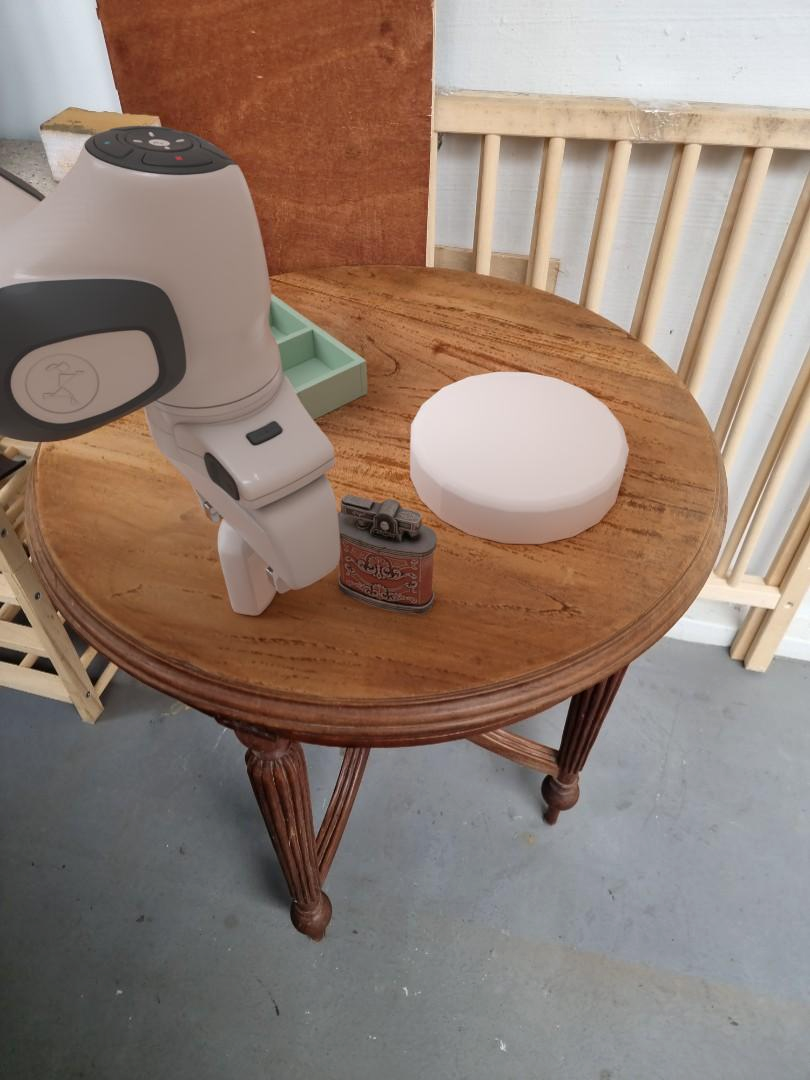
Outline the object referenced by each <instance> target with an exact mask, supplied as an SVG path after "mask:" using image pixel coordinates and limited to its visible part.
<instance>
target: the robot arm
mask: <svg viewBox="0 0 810 1080" xmlns="http://www.w3.org/2000/svg"><path fill="white" fill-rule="evenodd" d="M254 204H255V203H254V200H253V197H252V195H251V191H250V188H249V186H248V183H247V180H246V178H245V176H244V173H243V171H242V169H241V167H240V166H239V165H238V164H237V162H236V161H235V160H233V159H232V158H231V157H230V155H228V154H227V153H226V152H225V151H223V150H222V149H221V148H219V147H218V146H216V145H215V144H213V143H212V142H210V141H209V140H206V139H204V138H203V137H202V136H199V135H197V134H195V133H192V132H187V131H182V130H177V129H174V128H172V127H165V126H157V125H128V126H126V125H125V126H120V127H118V126H117V127H112V128H110V129H108V130H105V131H101V132H98V133H95V134H93V135H92V136H90V137H89V138H87V139H86V140H85V142H84V143H83V145H82V147H81V150H80V152H79V154H78V157H77V159H76V160H75V162H74V164H73V165H72V167H71V168H70V169H69V170H68V172H67V173H66V174H65V175H64V176H63V178H62V179H61V180H60V181H58V184H57V185H56V186H55V187H54V188H53V189H52V190H51V191H50V192H49V193H48V194H47V195H46V196H45V195H44V194H43V193H42V192H41V191H39V190H38V189H36V188H35V187H34V186H32V185H31V184H30V183H28V182H27V181H25V180H23V179H22V178H20V177H19V176H17V175H15V174H14V173H12V172H10V171H8V170H7V169H5V168H3V167H1V166H0V436H2V437H4V438H7V439H12V440H16V441H20V442H21V441H22V442H27V443H28V442H29V443H54V442H55V443H56V442H61V441H62V442H63V441H67V440H71V439H75V438H77V437H81V436H83V435H87V434H89V433H91V432H94V431H96V430H98V429H100V428H102V427H105V426H107V425H110V424H112V423H114V422H116V421H117V420H120V419H122V418H124V417H127V416H129V415H131V414H133V413H136V412H137V411H139V410H140V409H143V413H144V416H145V421H146V424H147V428H148V432H149V434H150V437H151V439H152V441H153V443H154V445H155V447H156V448H157V450H158V452H159V453H160V454H161V455H162V456H163V457H164V458H165V459H166V460H167V462H169V463H170V464H171V465H172V466H173V467H174V468H175V469H176V471H178V472H179V474H180V475H181V476H182V477H183V478H184V479H185V480H186V481H187V482H188V483H189V484H190V486H191V488H192V489H193V491H194V493H195V495H196V496H197V499H198V500H199V503H200V506H201V510H202V512H203V514H204V515H205V516H206V517H207V518H208V519H209V520H210V521H211V522H212V523H214V524H218V523H220V522H222V520H223V519H225V520H226V521H227V522H228V523H229V524H230V525H231V527H232V528H233V529H234V530H235V531H236V532H237V533H238V534H239V535H240V536H241V537H242V538H243V539H244V540H245V541H246V542H247V543H248V544H249V545H250V546H251V547H252V548H253V549H254V550H255V552H256V553H257V554H258V555H259V556H260V557H261V558H262V559H263V560H264V561H265V562H266V563H267V564H268V565H269V567H268V568H266V573H267V576H268V581H269V582H270V583H271V584H272V586H273V587H274V588H275V589H276V590H277V591H276V592H278V593H279V594H281V595H282V594H286V593H287V592H289V591H290V590H292V591H293V590H294V591H298V590H301V589H303V588H304V589H305V588H306V587H309V586H311V585H313V584H315V583H316V582H318V581H320V580H321V579H323V578H324V577H326V576H327V575H329V574H330V573H332V572H333V571H334V570H335V569H336V568H337V567H338V565H339V561H340V532H339V521H338V513H339V512H338V506H337V500H336V497H335V493H334V492H335V491H334V489H333V487H332V483H331V481H330V480H329V478H328V477H327V474H326V473H328V472H329V471H330V470H332V469H333V468H334V467H335V463H336V457H335V450H334V446H333V443H332V442H331V441H330V439H329V438H328V436H327V435H326V434H325V432H324V431H323V430H322V429H321V428H320V427H319V425H318V424H317V423H316V421H315V419H314V420H313V419H312V418H311V416H310V415H309V413H308V412H307V411H306V409H305V408H304V406H303V405H302V403H301V402H300V400H299V398H298V396H297V395H296V393H295V390H294V388H293V386H292V384H291V382H290V381H289V379H288V378H287V376H285V375H283V371H282V364H281V357H280V351H279V347H278V344H277V342H276V340H275V337H274V336H273V334H272V332H271V329H270V326H269V309H270V304H271V294H272V289H271V282H270V274H269V269H268V264H267V257H266V252H265V247H264V242H263V237H262V233H261V232H262V231H261V228H260V224H259V219H258V215H257V212H256V208H255V205H254Z"/></svg>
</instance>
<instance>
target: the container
mask: <svg viewBox="0 0 810 1080" xmlns="http://www.w3.org/2000/svg"><path fill="white" fill-rule="evenodd" d="M409 440H410V443H409V478H410V480H411V482H412V485H413V487H414V489H415V491H416V494H417V496H418V498H419V500H420V501H421V502H423V504H424V505H425V506H426V507H427V508H428V509H429V510H430V511H431V512H432V513H433V514H434V515H435V516H436V517H437V518H438V519H439V520H441V521H443V522H444V523H447V524H448V525H450V526H452V527H454V528H456V529H458V530H459V531H461V532H463V533H465V534H467V535H468V536H472V537H476V538H480V539H483V540H484V539H485V540H489V541H492V542H496V543H500V544H504V545H505V544H509V545H511V544H512V545H513V544H515V545H543V544H547V543H552V542H557V541H560V540H565V539H569V538H574V537H575V536H577V535H579V534H581V533H582V532H585V531H586V530H588V529H590V528H591V527H593V526H595V525H597V524H599V523H600V522H601V521H602V519H603V518H604V517H605V516H606V515H607V514H608V512H609V511H610V510H611V509H612V508H613V506H614V505H615V504H616V502H617V499H618V495H619V491H620V488H621V484H622V480H623V477H624V474H625V469H626V466H627V462H628V458H629V453H630V448H629V443H628V440H627V437H626V433H625V429H624V427H623V425H622V424H621V422H620V421H619V420H618V418H617V417H616V415H614V413H613V412H612V411H611V409H610V408H609V407H608V406H607V405H606V404H605V403H604V402H602V401H601V400H599V399H598V398H597V397H595V396H593V394H591V393H589V392H588V391H586V390H585V389H584V388H582V387H579V386H576V385H574V384H572V383H569V382H567V381H564V380H562V379H559V378H557V377H553V376H547V375H544V374H543V375H542V374H538V373H532V372H529V371H528V372H527V371H494V372H487V373H482V374H475V375H470V376H467V377H465V378H462V379H460V380H458V381H455V382H452V383H451V384H448V385H446V386H443V387H441V389H439V390H438V391H436V393H434V394H433V395H432V396H431V397H429V398H428V399H427V400H426V401H424V402H423V403H422V404H421V406H420V407H419V409H418V411H417V413H416V414H415V416H414V419H413V420H412V422H411V424H410V439H409Z"/></svg>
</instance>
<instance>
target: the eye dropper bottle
mask: <svg viewBox="0 0 810 1080" xmlns="http://www.w3.org/2000/svg"><path fill="white" fill-rule="evenodd" d="M217 552H218V557H219V561H220V566H221V570H222V573H223V577H224V582H225V586H226V589H227V595H228V598H229V603H230V605H231V609H232V611H233V612H234V613H237V614H240V615H245V616H255V617H256V616H259V615H261V614H262V613H263V612H264V611H265V610H266V609H267V608H268V607H269V605H270V604H271V602H273V600H274V597H276V593H277V592H278V591H277V590H276V589H275V588H274V587H273V586H272V584H271V583H270V582H269V581H268V576H267V573H266V568H268V567H269V565H268V564H267V563H266V562H265V561H264V560H263V559H262V558H261V557H260V556H259V555H258V554H257V553H256V552H255V550H254V549H253V548H252V547H251V546H250V545H249V544H248V543H247V542H246V541H245V540H244V539H243V538H242V537H241V536H240V535H239V534H238V533H237V532H236V531H235V530H234V529H233V528H232V527H231V525H230V524H229V523H228V522H227V521H226V520H225V519H221V523H220V525H219V527H218V532H217Z"/></svg>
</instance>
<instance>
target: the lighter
mask: <svg viewBox="0 0 810 1080" xmlns="http://www.w3.org/2000/svg"><path fill="white" fill-rule="evenodd" d="M339 503H340V511H339V512H338V521H339V532H340V561H339V564H338V565H339V574H338V588H339V590H340V592H341V594H343V595H345V596H347V597H349V598H351V599H354V600H356V601H357V602H360V603H362V604H365V605H368V606H371V607H374V608H377V609H380V610H384V611H389V612H395V613H400V614H401V613H402V614H409V615H424V614H426V613H428V612H429V611H431V609H432V607H433V606H434V602H435V592H434V589H433V580H434V579H433V578H434V557H435V555H434V554H435V551H436V548H437V541H438V538H437V533H436V532H435V530H434V529H432V528H431V527H429V526H427V525H424V524H423V523H422V513H421V512H420V511H416V510H413V509H409V508H406V507H405V508H404V507H403V505H401V503H400V502H399V501H397V500H396V499H392V498H386V499H385V500H384V501H382V502H379V501H375V500H374V499H370V498H366V497H361V496H358V495H354V494H345V495H343V496H342V497H341V499H340V502H339Z"/></svg>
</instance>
